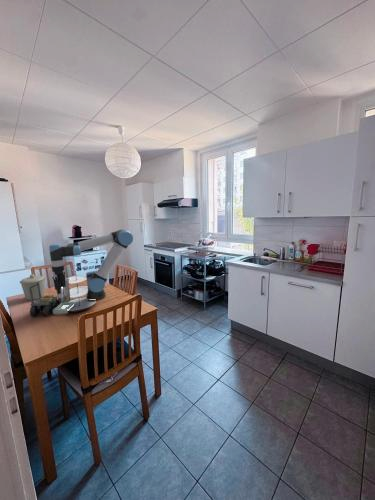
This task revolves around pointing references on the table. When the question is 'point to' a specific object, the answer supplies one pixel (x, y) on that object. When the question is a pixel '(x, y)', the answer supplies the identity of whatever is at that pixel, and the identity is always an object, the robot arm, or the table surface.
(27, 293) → the canister
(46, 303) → the trolley
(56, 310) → the tray
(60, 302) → the pin
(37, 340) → the table surface
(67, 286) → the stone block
